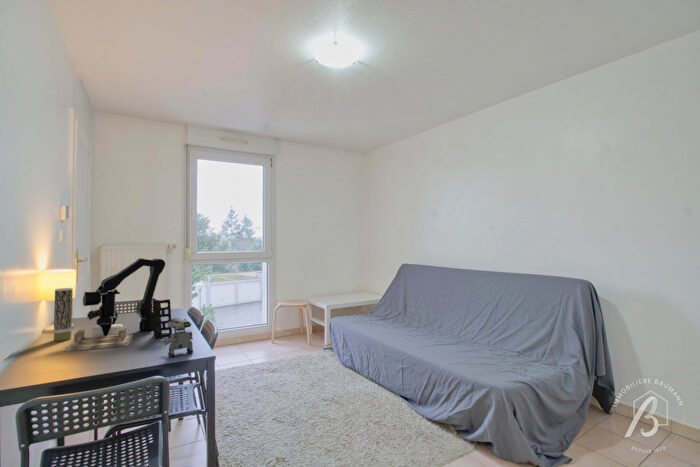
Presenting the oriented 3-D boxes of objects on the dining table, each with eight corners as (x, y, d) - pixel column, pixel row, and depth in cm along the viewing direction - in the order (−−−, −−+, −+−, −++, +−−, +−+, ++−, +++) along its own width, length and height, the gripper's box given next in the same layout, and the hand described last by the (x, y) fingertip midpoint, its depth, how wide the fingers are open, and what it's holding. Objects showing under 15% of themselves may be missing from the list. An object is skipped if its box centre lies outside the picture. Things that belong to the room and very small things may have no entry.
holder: (176, 334, 185) (174, 297, 184) (168, 340, 178) (166, 300, 176) (157, 334, 186) (154, 296, 185) (147, 339, 179) (145, 300, 177)
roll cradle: (132, 337, 179) (133, 324, 180) (128, 345, 167) (128, 331, 167) (74, 343, 170) (74, 329, 170) (64, 351, 157) (65, 336, 157)
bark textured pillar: (61, 342, 171) (62, 290, 172) (49, 341, 172) (51, 289, 173) (74, 338, 178) (76, 288, 178) (63, 337, 179) (65, 287, 180)
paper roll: (122, 335, 186) (123, 323, 187) (120, 336, 181) (121, 324, 181) (94, 337, 181) (95, 325, 182) (91, 339, 176) (92, 326, 176)
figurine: (184, 348, 163) (185, 315, 163) (194, 354, 155) (195, 319, 155) (163, 352, 156) (163, 318, 157) (172, 359, 148) (173, 323, 149)
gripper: (93, 301, 187) (93, 331, 186) (84, 307, 170) (83, 340, 169) (118, 300, 191) (118, 329, 191) (111, 306, 174) (111, 338, 174)
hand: (107, 334), depth 181 cm, fingers open, 9 cm apart
